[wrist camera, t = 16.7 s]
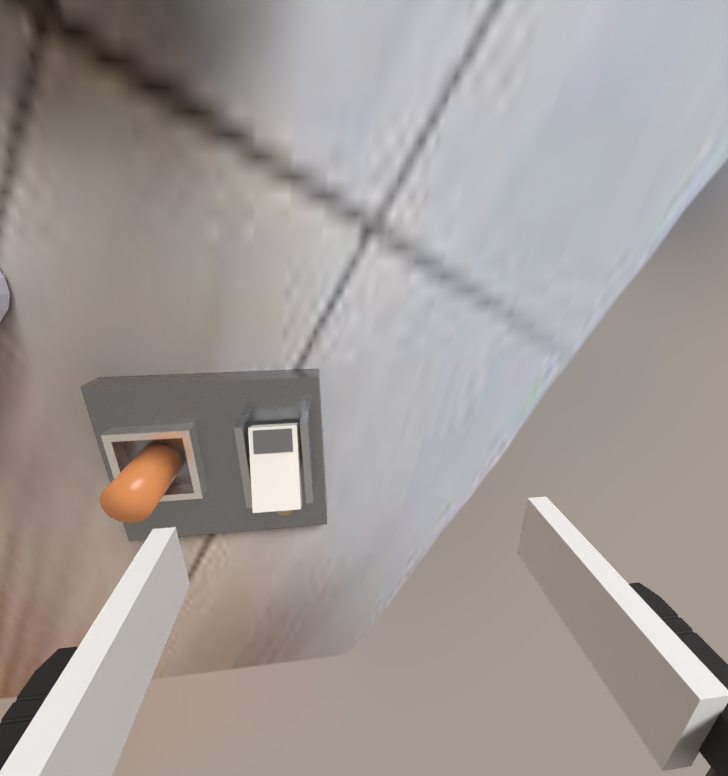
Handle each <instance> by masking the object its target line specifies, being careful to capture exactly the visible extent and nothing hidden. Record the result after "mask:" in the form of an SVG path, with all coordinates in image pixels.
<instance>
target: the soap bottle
mask: <svg viewBox="0 0 728 776" xmlns="http://www.w3.org/2000/svg"><path fill="white" fill-rule="evenodd" d="M9 301H10V292H9V288H8V285H7V282H6V278H5V276H4V275H3V273H2V272H1V270H0V321H1V320H2V319H3V317H4V315H5V314H6V312H7V311H8V309H9Z"/></svg>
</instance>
